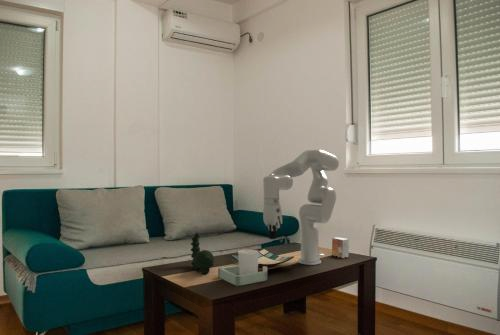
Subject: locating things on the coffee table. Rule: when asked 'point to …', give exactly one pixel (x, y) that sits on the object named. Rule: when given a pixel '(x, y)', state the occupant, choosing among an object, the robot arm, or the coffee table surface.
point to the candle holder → (248, 261)
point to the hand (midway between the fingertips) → (272, 238)
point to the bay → (232, 277)
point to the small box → (340, 247)
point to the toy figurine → (201, 256)
